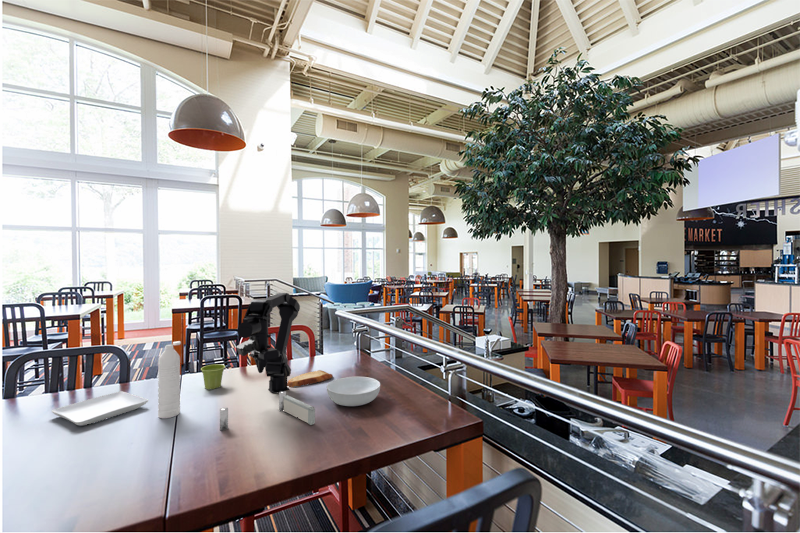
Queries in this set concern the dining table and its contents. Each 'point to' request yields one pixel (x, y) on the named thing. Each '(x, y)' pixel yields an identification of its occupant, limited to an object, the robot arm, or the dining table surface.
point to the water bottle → (169, 382)
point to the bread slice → (309, 378)
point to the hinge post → (281, 400)
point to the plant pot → (213, 375)
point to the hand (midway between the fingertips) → (260, 372)
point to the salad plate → (100, 408)
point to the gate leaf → (299, 409)
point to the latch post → (223, 418)
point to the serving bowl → (353, 390)
